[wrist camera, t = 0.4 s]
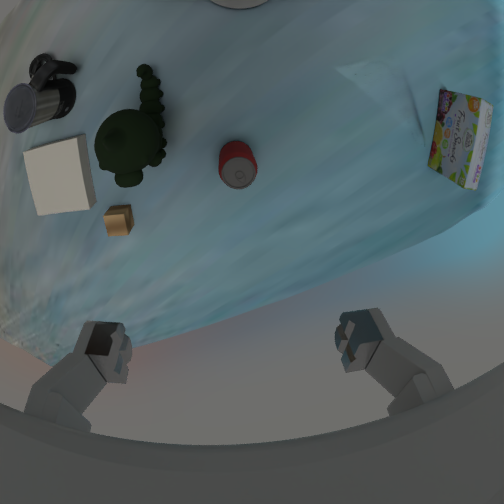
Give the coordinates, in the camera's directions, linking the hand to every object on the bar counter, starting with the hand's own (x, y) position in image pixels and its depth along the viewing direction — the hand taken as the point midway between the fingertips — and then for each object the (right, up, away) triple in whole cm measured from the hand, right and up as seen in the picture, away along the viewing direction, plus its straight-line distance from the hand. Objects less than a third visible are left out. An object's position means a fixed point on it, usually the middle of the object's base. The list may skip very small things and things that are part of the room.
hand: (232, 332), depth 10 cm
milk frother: (-42, +38, +28) cm, 63 cm away
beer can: (-3, +22, +43) cm, 49 cm away
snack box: (+48, +34, +41) cm, 72 cm away
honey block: (-29, +11, +48) cm, 57 cm away
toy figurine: (-18, +30, +36) cm, 51 cm away
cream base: (-42, +21, +40) cm, 62 cm away
